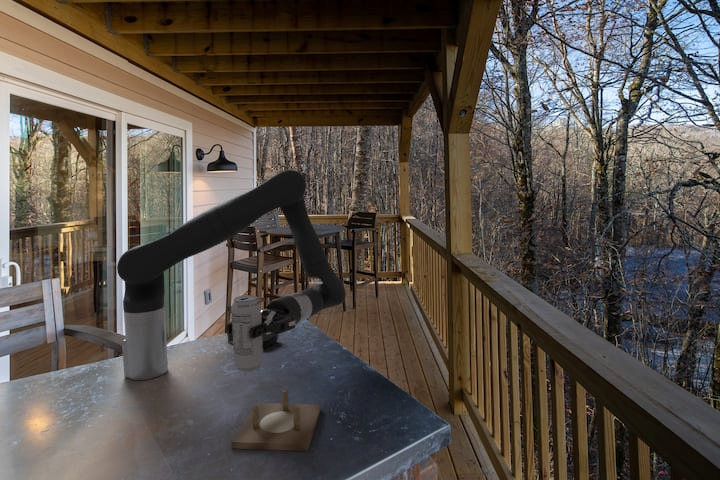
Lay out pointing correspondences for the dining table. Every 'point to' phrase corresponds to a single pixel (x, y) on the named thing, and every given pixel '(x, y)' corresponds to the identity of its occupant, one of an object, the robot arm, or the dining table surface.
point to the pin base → (278, 426)
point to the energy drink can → (246, 333)
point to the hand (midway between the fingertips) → (239, 331)
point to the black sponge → (266, 339)
